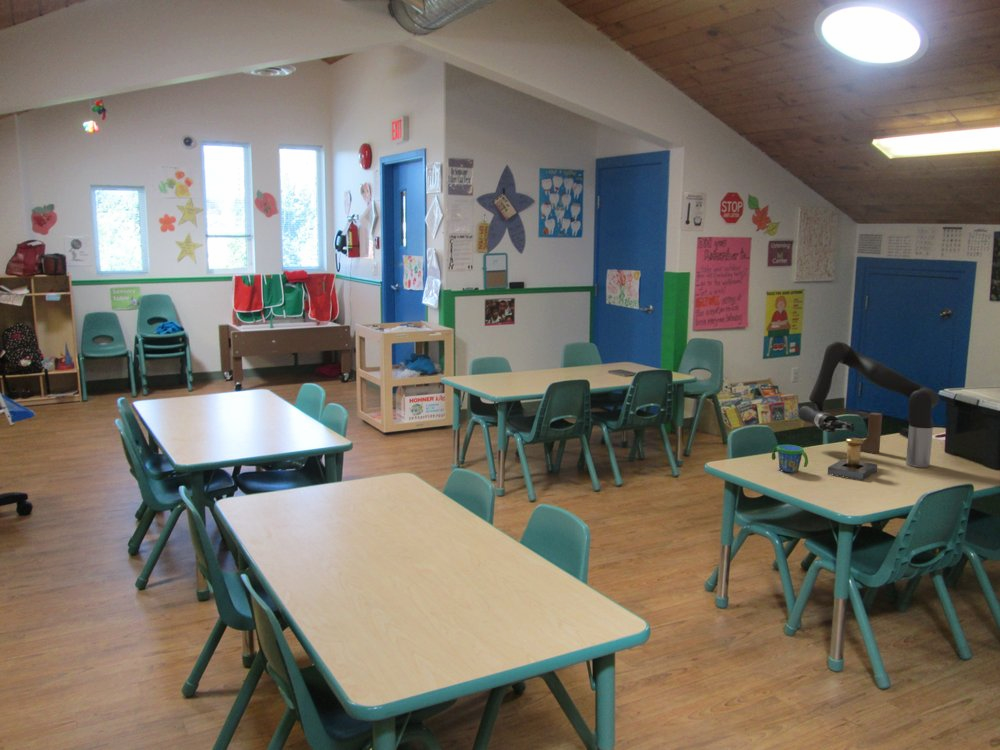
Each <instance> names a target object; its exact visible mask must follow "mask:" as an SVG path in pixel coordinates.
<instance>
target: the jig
mask: <svg viewBox="0 0 1000 750" xmlns="http://www.w3.org/2000/svg"><path fill="white" fill-rule="evenodd" d="M846 462H847V458H842V459H840V460H839V461H837V462H835V463H833V464H831V465H830V466H827V467H828V468H827V475H829V474H833V475H832V476H835V475H838V476H837V477H840V476H844V477H843V478H846V477H848V478H847V479H851V478H853V479H852V480H856V479H857V481H862V480H863V481H864V480H867V478H869V477H870V476H872V475H874V474H875V473H877V472H878V464H877V463H871V462H865V461H860V463H859V469H855V468H850V467H846Z"/></svg>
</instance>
